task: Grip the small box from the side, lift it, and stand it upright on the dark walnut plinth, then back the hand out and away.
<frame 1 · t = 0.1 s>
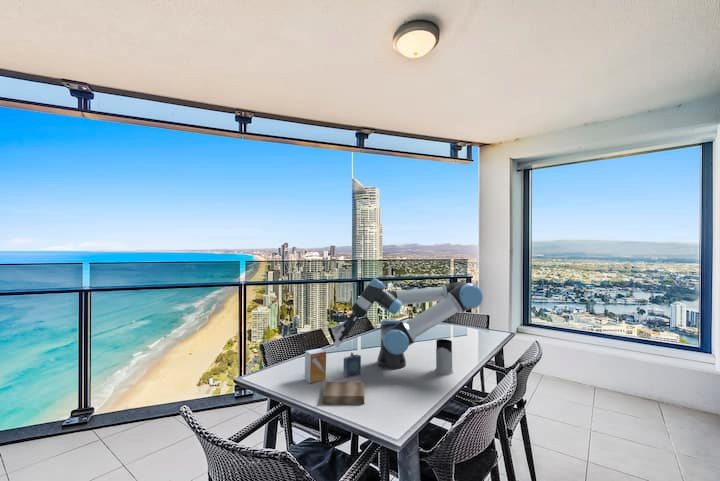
hand: (336, 342, 151), 15 cm above the table, tool tilted 35°, fingers open, 13 cm apart
small box: (315, 380, 142), on the table
glass holder: (445, 370, 156), on the table
walnut plinth: (344, 395, 126), on the table
flask: (351, 376, 148), on the table
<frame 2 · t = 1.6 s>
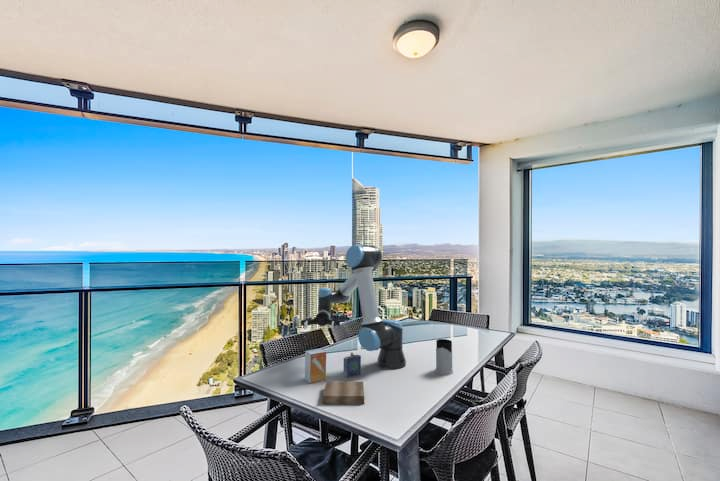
hand: (318, 326, 153), 22 cm above the table, tool horizontal, fingers open, 13 cm apart
nothing on the table moved.
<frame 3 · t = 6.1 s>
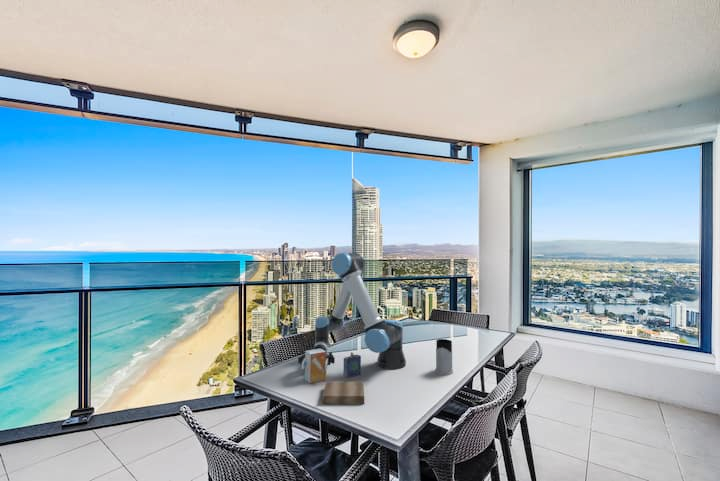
hand: (314, 366, 138), 8 cm above the table, tool horizontal, fingers closed on small box, 10 cm apart
small box: (315, 379, 142), on the table, touching gripper
everything else where it was.
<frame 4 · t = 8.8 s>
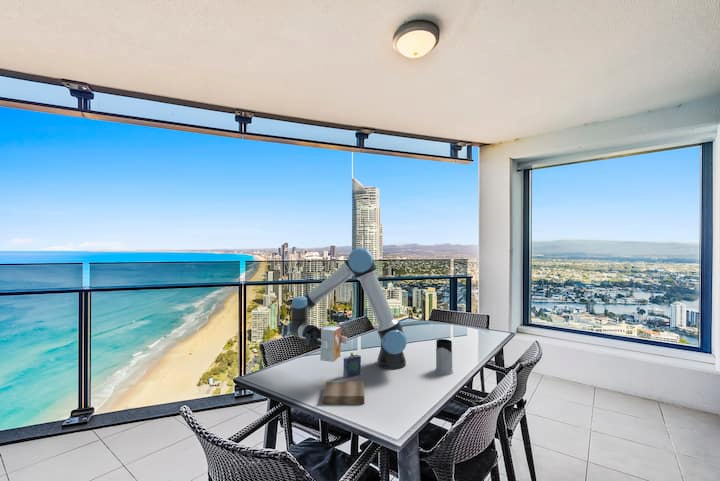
hand: (337, 342, 129), 21 cm above the table, tool horizontal, fingers closed on small box, 10 cm apart
small box: (330, 359, 132), point 13 cm above the table, touching gripper
everything else where it was.
when the fingers open (12 cm above the table, at t = 11.7 s): small box drops 1 cm, resting on walnut plinth.
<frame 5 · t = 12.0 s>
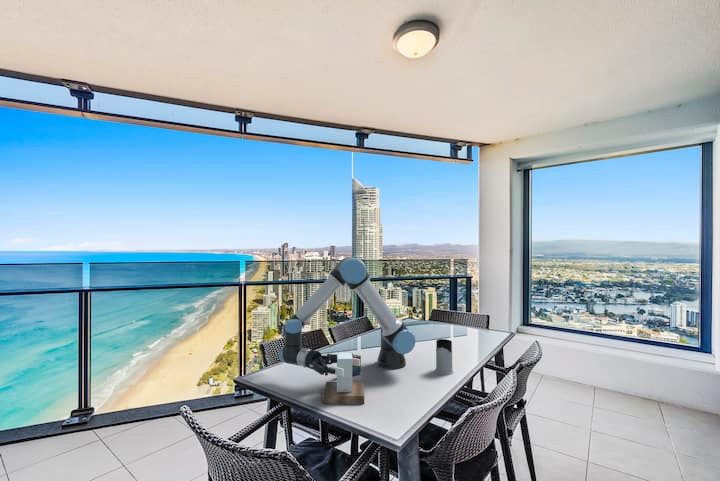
hand: (351, 367, 125), 12 cm above the table, tool horizontal, fingers open, 12 cm apart
small box: (344, 388, 126), point 3 cm above the table, touching walnut plinth
everything else where it was.
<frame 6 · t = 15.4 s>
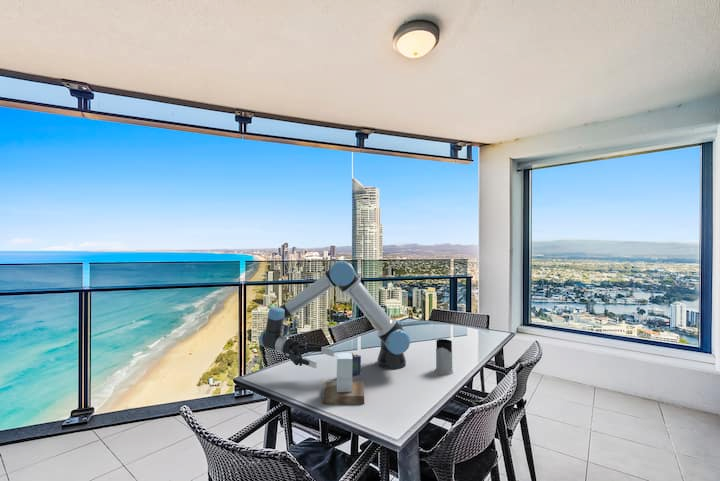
hand: (325, 359, 133), 12 cm above the table, tool horizontal, fingers open, 13 cm apart
nothing on the table moved.
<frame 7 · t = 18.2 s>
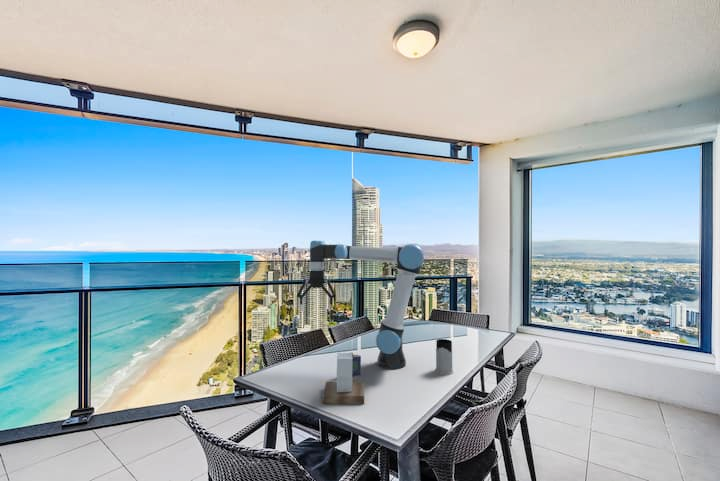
hand: (316, 311, 160), 29 cm above the table, tool pointing down, fingers open, 13 cm apart
nothing on the table moved.
at the end: small box inside the target area on the walnut plinth (0.2 cm from its centre), point 2.8 cm above the walnut plinth's base; small box tilted 0°; the gripper is holding nothing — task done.
